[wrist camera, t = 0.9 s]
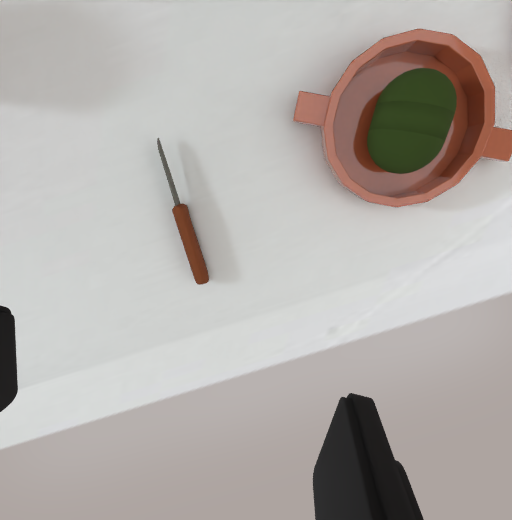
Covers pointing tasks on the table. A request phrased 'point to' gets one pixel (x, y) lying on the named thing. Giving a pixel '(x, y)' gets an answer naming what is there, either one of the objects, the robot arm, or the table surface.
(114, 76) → the table surface
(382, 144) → the avocado
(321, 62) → the table surface
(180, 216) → the kitchen knife
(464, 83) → the pot
